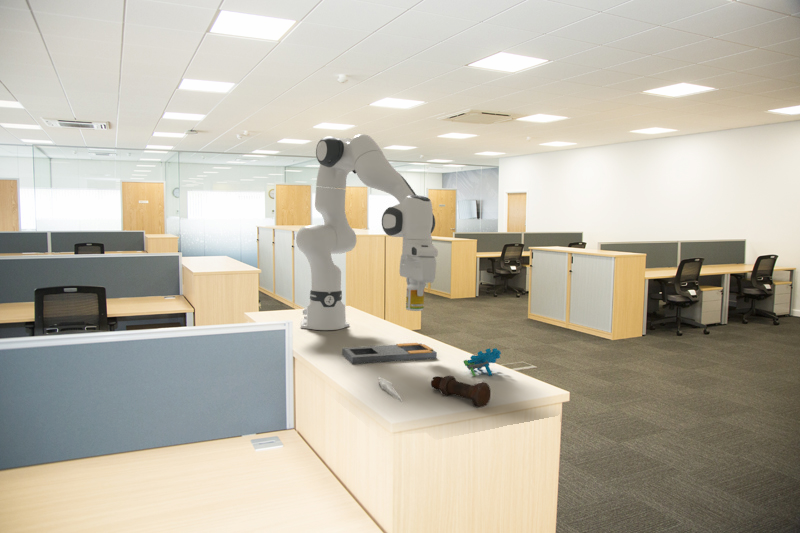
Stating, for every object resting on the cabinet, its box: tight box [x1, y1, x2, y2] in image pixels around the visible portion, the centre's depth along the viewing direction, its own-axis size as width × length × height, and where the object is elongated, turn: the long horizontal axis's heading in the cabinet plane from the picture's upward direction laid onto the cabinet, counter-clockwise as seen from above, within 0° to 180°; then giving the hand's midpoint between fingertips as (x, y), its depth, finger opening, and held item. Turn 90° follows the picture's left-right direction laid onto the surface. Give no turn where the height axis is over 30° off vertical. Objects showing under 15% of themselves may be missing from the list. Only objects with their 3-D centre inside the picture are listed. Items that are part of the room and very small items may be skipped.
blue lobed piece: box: [463, 347, 502, 377], centre depth 141 cm, size 11×6×10 cm
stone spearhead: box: [377, 376, 403, 402], centre depth 123 cm, size 15×3×2 cm, turn 22°
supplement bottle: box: [405, 278, 425, 312], centre depth 158 cm, size 5×5×10 cm
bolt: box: [430, 375, 491, 408], centre depth 121 cm, size 6×5×15 cm
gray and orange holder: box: [341, 342, 438, 365], centre depth 157 cm, size 12×26×2 cm, turn 110°
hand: (415, 294), depth 158 cm, fingers closed on supplement bottle, 5 cm apart
